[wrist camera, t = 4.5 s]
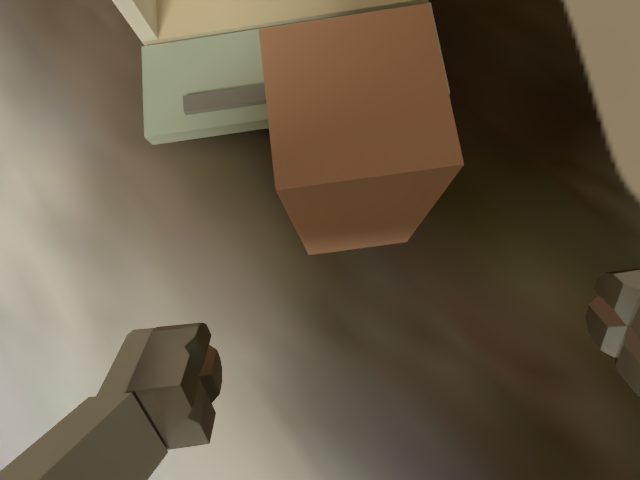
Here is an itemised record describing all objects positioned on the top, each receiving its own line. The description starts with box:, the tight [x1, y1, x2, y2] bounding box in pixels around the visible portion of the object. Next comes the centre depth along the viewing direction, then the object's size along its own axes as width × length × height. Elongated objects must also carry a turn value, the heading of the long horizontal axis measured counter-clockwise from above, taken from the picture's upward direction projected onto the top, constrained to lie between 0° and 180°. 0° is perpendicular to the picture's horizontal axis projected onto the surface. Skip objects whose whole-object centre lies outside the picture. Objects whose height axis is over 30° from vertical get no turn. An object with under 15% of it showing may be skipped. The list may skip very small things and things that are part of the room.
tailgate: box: [142, 3, 450, 145], centre depth 19 cm, size 14×1×5 cm
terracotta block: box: [259, 3, 464, 255], centre depth 14 cm, size 4×4×9 cm
